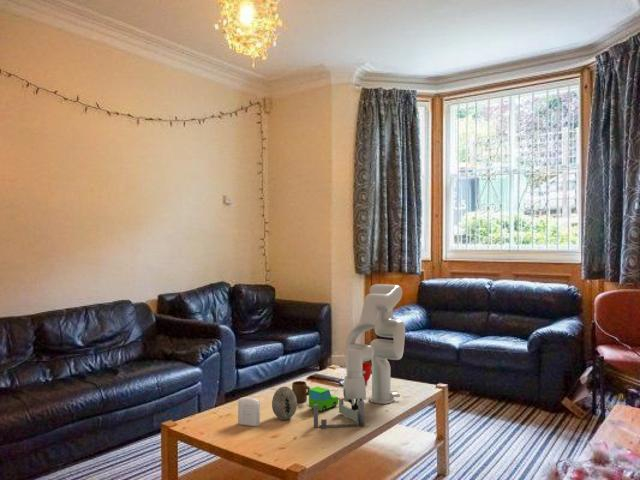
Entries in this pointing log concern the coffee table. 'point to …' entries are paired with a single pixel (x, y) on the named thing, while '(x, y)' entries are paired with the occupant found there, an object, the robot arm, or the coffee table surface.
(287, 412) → the decorative egg
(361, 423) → the gate posts
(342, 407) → the gate
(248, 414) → the photo printer
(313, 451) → the coffee table surface
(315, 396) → the green toy car
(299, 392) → the mug
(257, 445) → the coffee table surface
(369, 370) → the ceramic cup
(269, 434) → the coffee table surface
